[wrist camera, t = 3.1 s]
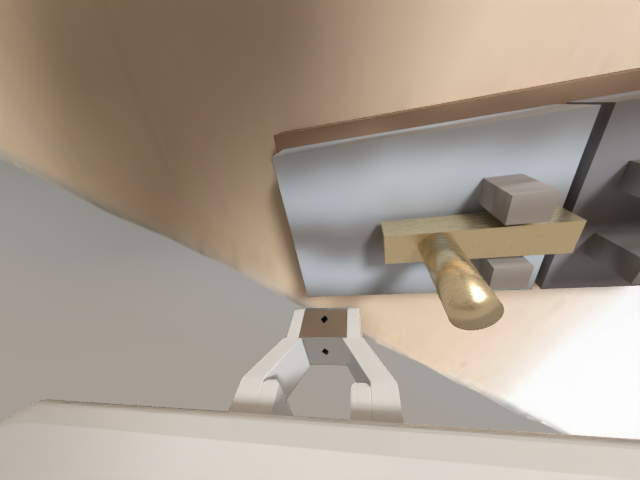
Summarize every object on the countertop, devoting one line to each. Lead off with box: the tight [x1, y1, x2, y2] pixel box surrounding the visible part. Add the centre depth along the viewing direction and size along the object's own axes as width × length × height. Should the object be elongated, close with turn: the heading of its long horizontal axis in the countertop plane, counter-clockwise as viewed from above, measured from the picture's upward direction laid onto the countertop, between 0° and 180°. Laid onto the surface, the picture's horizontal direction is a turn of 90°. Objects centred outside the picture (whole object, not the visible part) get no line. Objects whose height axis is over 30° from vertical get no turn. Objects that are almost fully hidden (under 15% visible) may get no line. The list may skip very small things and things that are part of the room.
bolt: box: [381, 205, 587, 330], centre depth 12 cm, size 2×10×7 cm, turn 100°
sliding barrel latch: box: [271, 68, 640, 297], centre depth 15 cm, size 14×32×8 cm, turn 100°
